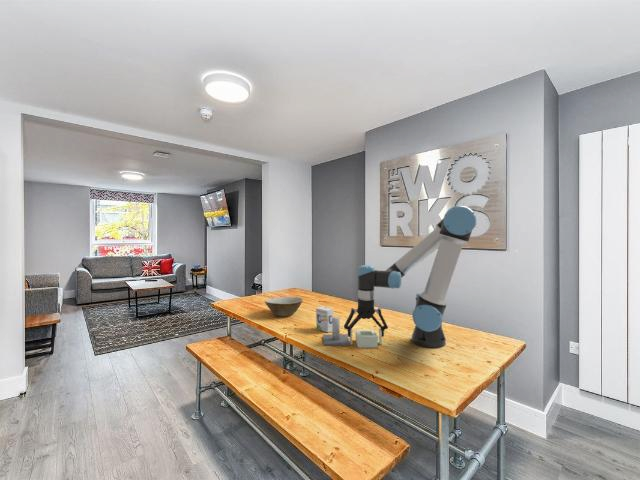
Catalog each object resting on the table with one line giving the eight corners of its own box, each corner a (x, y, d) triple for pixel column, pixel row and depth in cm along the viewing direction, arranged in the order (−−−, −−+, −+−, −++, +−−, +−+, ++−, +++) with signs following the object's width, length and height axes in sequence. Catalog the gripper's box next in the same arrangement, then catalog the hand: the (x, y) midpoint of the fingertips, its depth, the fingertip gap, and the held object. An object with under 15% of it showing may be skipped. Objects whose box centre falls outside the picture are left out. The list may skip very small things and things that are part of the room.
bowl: (271, 309, 204) (271, 294, 204) (306, 310, 201) (306, 295, 200) (259, 319, 181) (259, 302, 180) (298, 320, 177) (298, 304, 177)
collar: (374, 340, 146) (374, 330, 145) (377, 347, 137) (377, 336, 136) (355, 340, 146) (355, 330, 145) (358, 347, 137) (358, 336, 136)
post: (347, 336, 151) (347, 314, 151) (349, 345, 139) (349, 322, 139) (323, 336, 151) (323, 314, 150) (323, 345, 139) (323, 322, 139)
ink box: (334, 330, 160) (334, 308, 159) (327, 333, 156) (327, 310, 156) (322, 327, 166) (322, 305, 165) (315, 329, 162) (315, 307, 162)
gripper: (390, 296, 144) (390, 340, 145) (338, 296, 144) (338, 340, 145) (394, 300, 137) (394, 346, 137) (339, 300, 136) (339, 346, 137)
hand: (365, 343), depth 141 cm, fingers open, 13 cm apart
